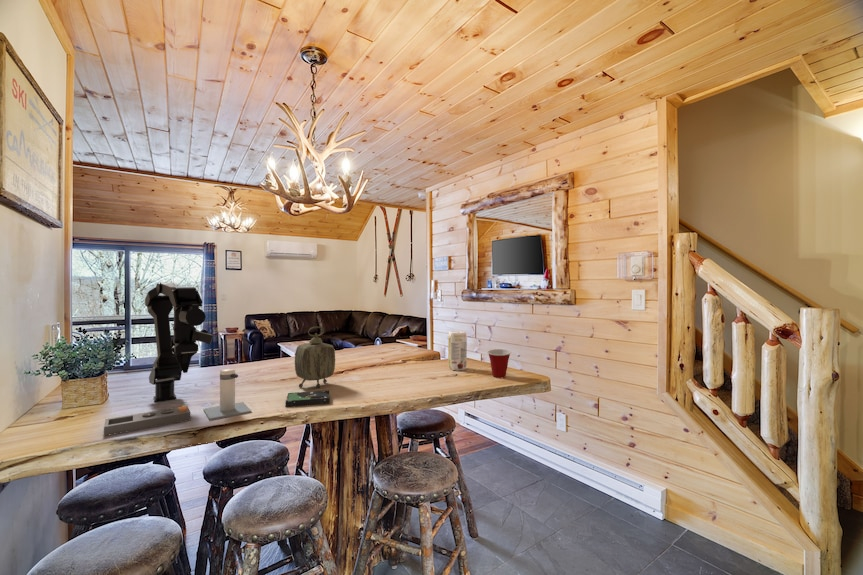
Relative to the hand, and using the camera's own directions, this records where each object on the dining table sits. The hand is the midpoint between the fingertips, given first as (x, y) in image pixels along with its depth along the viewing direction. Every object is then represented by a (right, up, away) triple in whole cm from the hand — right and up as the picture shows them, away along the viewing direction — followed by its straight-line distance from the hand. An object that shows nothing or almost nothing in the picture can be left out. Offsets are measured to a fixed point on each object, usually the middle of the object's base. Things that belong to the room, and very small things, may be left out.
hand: (183, 370), depth 125 cm
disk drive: (+39, -14, +9) cm, 42 cm away
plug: (+17, -13, -3) cm, 21 cm away
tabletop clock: (+36, -14, +29) cm, 48 cm away
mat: (+16, -13, -2) cm, 21 cm away
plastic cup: (+115, -14, +49) cm, 126 cm away
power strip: (-1, -13, -14) cm, 19 cm away
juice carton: (+97, -14, +64) cm, 117 cm away
